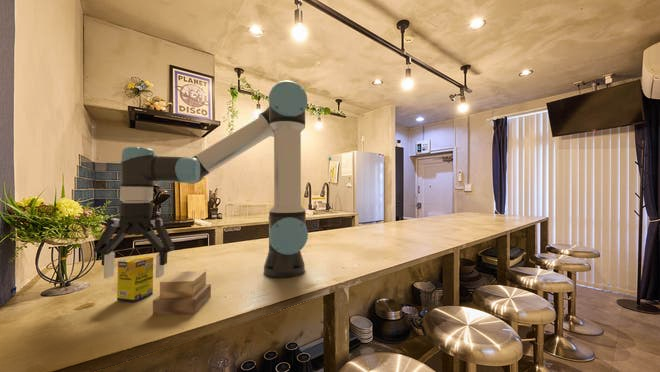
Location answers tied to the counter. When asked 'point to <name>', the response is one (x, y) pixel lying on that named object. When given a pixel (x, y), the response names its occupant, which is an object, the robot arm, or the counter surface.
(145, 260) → the supplement box
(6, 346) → the counter surface
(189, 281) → the oak block
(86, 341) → the counter surface
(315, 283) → the counter surface
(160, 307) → the walnut base block
